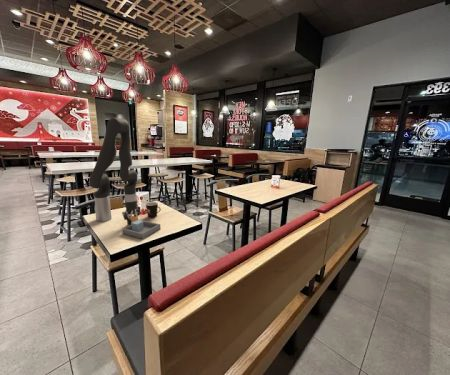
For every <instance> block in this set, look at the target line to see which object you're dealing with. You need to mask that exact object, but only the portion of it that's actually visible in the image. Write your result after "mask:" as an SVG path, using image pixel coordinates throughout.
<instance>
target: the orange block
mask: <svg viewBox="0 0 450 375" xmlns="http://www.w3.org/2000/svg"><path fill="white" fill-rule="evenodd" d="M137 220H138V221H139V216H138V217H136V216H134V215H132V217H131V223H132V222H135V221H137ZM126 223H127V224H126V225H127V226H130V225H128V222H127V221H126Z"/></svg>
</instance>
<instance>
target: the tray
mask: <svg viewBox="0 0 450 375" xmlns="http://www.w3.org/2000/svg"><path fill="white" fill-rule="evenodd" d="M140 221H143V225H144V229H142V230H140V231H138V232H137V231H133V230H132V225H130V226H129V225H127V226H126V227H123V228H122V229H121V230H122V235H124V236H128V237H131V238H132V237H133V238H135V239H140V240H145V239H146V238H148V237H149V236H151V235H153V234H154V233H156V232H158V231H160V230H161V224H160V223H157V222H152V221H147V220H142V219H141V220H140Z"/></svg>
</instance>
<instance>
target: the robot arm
mask: <svg viewBox="0 0 450 375" xmlns="http://www.w3.org/2000/svg"><path fill="white" fill-rule="evenodd" d="M118 134H119V135H120V146H119V150H118V152H117V147H116V144H115V142H116V138H117V136H118ZM130 134H131V133H130V125H129V121H128V120H127V119H124V118H120V117H118V118H117V117H111V118H110V119H109V120H108V121H107V124H106V129H105V135H104V138H103V141H102V146H101V148H100V150H99V154H98V157H97V159H96V163H95V165H94V168H93V169H92V172H91V174H90V176H89V180H88V183H89V185H90V187H91V188H93V189H97V190H96V191H95V192H94V193H93V198H94V205H95V206H94V213H95V220H96V221H97V222H108V221H111V220H112V217H113V216H112V211H111V209H112V208H111V200H110V191H111V188H110V184H111V183H110V178H109V176H108V174H106V173H105V172H106V171H107V170H108V169H109V168H110V167H111V166H112V165H113V163H114V161H115V159H116V158H117V157H116V156H117V153H118V158H119V163H120V167H119V178H120V180H121V181H122V182H124V183H127V184H125V185H124V186H123V190H124V191H123V193H124V196H123V197H124V207H125V211H123V212H122V213H121V214H122V216H123V219H124V221H126V223H127V222H128V225H127V226H129V225H131V217H132V216H136V217H138V218H139V216H141V206H138V196H137V189H136V186H137V181H138V173H137V171H136V170H135V169H129V168H130V167H131V166H132V165H133V160H132V154H131V142H130V140H131V139H130V138H131V136H130Z"/></svg>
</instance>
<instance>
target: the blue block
mask: <svg viewBox="0 0 450 375" xmlns="http://www.w3.org/2000/svg"><path fill="white" fill-rule="evenodd" d="M143 221H144V220H143ZM143 221H141V220H139V219H138V220H137V221H135V222H132V223H131V225H132V230H133V231H137V232H138V231H140V230H142V229H144V225H143Z"/></svg>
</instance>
